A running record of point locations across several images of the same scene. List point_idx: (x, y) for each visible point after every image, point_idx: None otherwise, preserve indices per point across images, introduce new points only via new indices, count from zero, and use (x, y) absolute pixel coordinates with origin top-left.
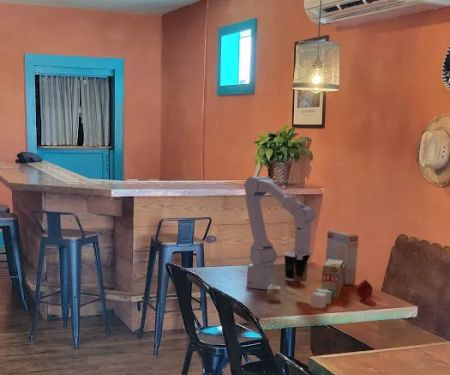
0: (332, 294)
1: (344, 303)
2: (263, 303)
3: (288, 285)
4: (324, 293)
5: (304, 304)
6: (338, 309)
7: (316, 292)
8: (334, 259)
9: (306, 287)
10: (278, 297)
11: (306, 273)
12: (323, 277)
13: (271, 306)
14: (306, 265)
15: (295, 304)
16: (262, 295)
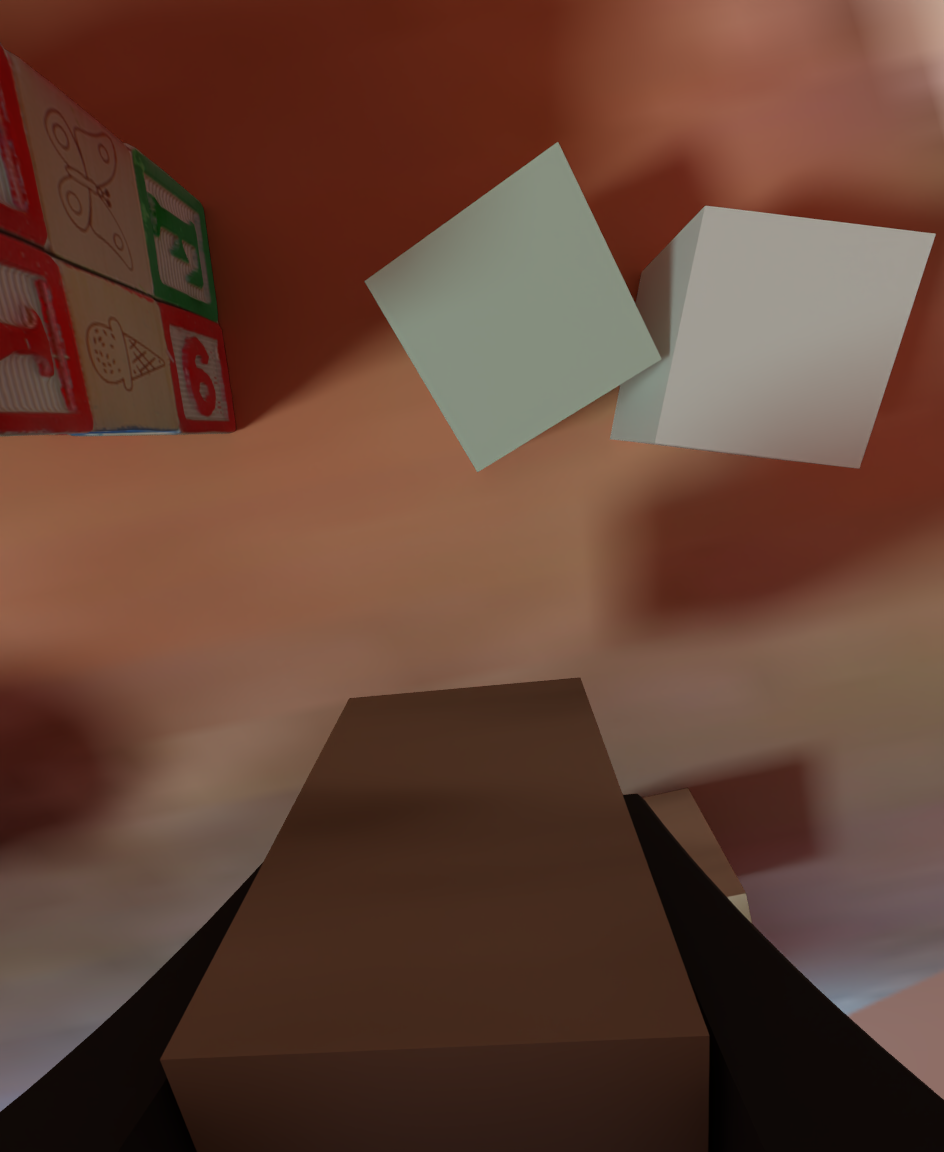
0: (187, 260)
1: (412, 18)
2: (836, 886)
3: (72, 826)
4: (711, 256)
5: (710, 535)
6: (768, 46)
7: (702, 409)
8: None
9: (5, 657)
10: (703, 822)
11: (434, 771)
12: (29, 403)
13: (915, 809)
14: (664, 1039)
15: (751, 624)
16: None
